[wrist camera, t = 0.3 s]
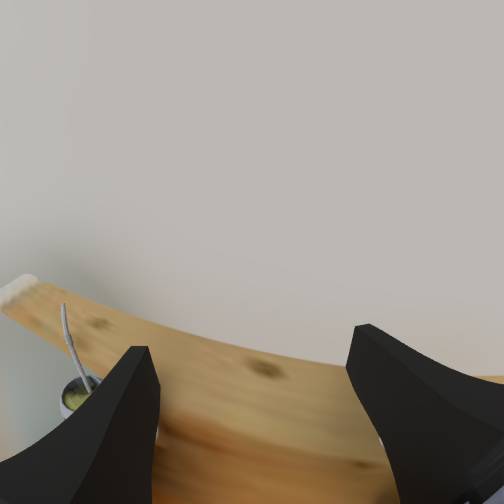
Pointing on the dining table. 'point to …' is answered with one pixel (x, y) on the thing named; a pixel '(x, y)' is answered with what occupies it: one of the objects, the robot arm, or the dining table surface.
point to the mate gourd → (75, 379)
